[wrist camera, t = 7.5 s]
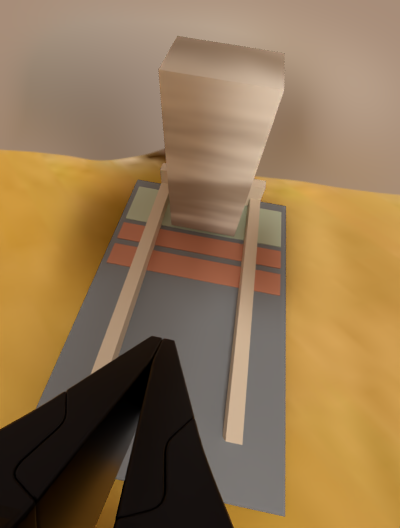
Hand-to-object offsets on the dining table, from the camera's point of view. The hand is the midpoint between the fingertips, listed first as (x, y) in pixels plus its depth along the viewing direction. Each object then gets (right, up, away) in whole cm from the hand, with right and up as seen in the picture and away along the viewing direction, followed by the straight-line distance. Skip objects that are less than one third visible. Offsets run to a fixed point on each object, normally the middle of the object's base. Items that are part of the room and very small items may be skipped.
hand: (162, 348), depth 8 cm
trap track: (0, 0, +10) cm, 10 cm away
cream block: (+2, +8, +14) cm, 16 cm away
